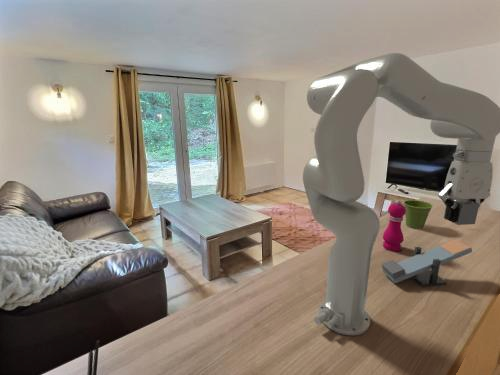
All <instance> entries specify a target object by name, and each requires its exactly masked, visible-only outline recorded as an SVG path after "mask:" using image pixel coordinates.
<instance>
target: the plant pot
mask: <svg viewBox="0 0 500 375" xmlns="http://www.w3.org/2000/svg"><path fill="white" fill-rule="evenodd" d="M403 206H404V207H405V209H406V213H405V215H404V216H405V225H406V227H409V228H411V229H418V230H420V229H423V228H424V227H425V225H426V221H427V219H428V217H429V214H430V212H431V209H432V208H433V207H434V204H432V203H430V202H428V201H424V200H417V199H406V200H404V201H403Z"/></svg>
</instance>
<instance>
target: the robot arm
mask: <svg viewBox="0 0 500 375" xmlns="http://www.w3.org/2000/svg"><path fill="white" fill-rule="evenodd" d="M377 97H378V98H382V99H384V100H386V101H388V102H389V103H391V104H393V105H394V106H396V107H398V109H401V110H402V111H404V112H405V113H406V114H408V115H410V116H412V117H416V118H420V119H424V120H430V123H429V124H430V129H431V132H432V133H433V134H434V135H436V136H437V137H440V138H444V139H453V140H455V139H456V140H457V143H456V149H455V152H453V154H452V157H453V161H452V160H451V163H450V166H449V169H448V172H447V174H446V177H445V178H446V179H445V182H444V187H443V189H442V190H441V191H440V192H439V194H438V196H437V197H438V198H439V199H440V200H441V201H442V203H444V205H445V209H446V213H445V212H444V215H445V219H444V220H446V219H447V221H449V222H451V223H453V222H455V221H456V217H457V212H458V209H457V208H456V207H457V205H458V203H459V201H460V200H470V201H473V202H476V203H479V208H480V207H481V204H482V203H483V202H485V200H487V198H488V199H489V197H490V196H491V188H492V182H493V171H494V170H493V169H494V168H493V161H492V162H491V159H492V155H493V151H494V145H495V141H496V137H497V136H498V135H499V134H500V106H499V105H498V104H497V103H496V102H494V101H493V100H492V99H491V98H489V97H488V96H486V95H485V94H482V93H479V92H478V91H474V90H471V89H466V88H463V87H459V86H457V85H453V84H450V83H445V82H442V81H440V80H438V79H437V78H436V77H435V76H434V75H432V74H430V72H428V71H427V70H426V69H424V68H423V67H421V66H420V65H419V64H418V63H417V62H415V61H414V60H413V59H411V58H410V57H408V56H407V55H405V54H403V53H399V52H392V53H386V54H383V55H379V56H376V57H372V58H368V59H364V60H362V61H359V62H357V63H354V64H352V65H348V66H347V67H344V68H342V69H338V70H336V71H334V72H331V73H328V74H325V75H322V76H319V77H317V78H316V79H315V80H314V81H313V82H312V83H311V84H310V86H309V88H308V90H307V92H306V101H307V106H308V107H309V109H311V110H312V112H314V113H315V114H318V115H320V117H319V119H318V121H317V124H316V127H315V129H314V130H315V131H314V134H313V136H314V138H313V140H314V144H313V145H314V149H315V153H316V155H315V156H313V157H311V158H310V159H309V160H308V161H307V162H306V164H305V166H304V168H303V171H302V182H303V186H304V190H305V194H306V197H307V200H308V204H309V208H310V211H311V214H312V216H313V218H314V220H315V221H316V222H317V223H318V224H319V225H320V226H322V227H323V228H325V229H327V231H329V232H330V233H332V234H334V236H335V237H336V239H335V241H334V243H333V244H332V245H331V247H330V250H329V253H328V261H327V262H328V263H327V264H328V265H327V279H326V292H325V300H323V301H322V302H321V303H320V305H319V306H318V307H319V308H318V314H317V315H316V316H315V317H314V319H313V321H314V322H315V324H316V325H317V326H319V325H321V324H324V325H325V326H326V327H328V328H329V329H330V330H332V331H334V332H335V333H338V334H341V335H343V336H344V335H345V336H359V335H362V334H364V333H365V332H367V331H368V330H369V328H370V325H371V324H370V323H371V318H370V315H369V313H368V312H367V310H366V309H365V308H366V301H367V300H366V299H367V292H368V286H369V285H368V284H369V276H370V268H371V267H370V266H371V260H372V254H373V249H374V244H375V242H376V239H377V236H378V234H379V232H380V226H381V224H380V222H381V221H380V218H379V216H378V214H377V213H376V212H375V211H374V210H373V209H372V208H371V207H370V206H368V205H366V204H364V203H363V202H359V201H357V200H359V199H360V198H361V197H362V196H363V194H364V191H365V177H364V176H365V175H364V173H363V172H364V170H363V165H362V161H361V156H360V152H359V145H358V144H359V143H358V130H359V128H360V125H361V122H362V120H363V119H364V117H365V115H366V114H367V112H368V111H369V110H370V108H371V107H372V105H373V104H374V102H375V100H376V98H377ZM452 199H454V201H453V202H452ZM446 206H447V207H446Z"/></svg>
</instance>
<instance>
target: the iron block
mask: <svg viewBox="0 0 500 375" xmlns="http://www.w3.org/2000/svg"><path fill="white" fill-rule="evenodd" d="M453 201H454V199H452V202H453ZM446 207H447V206H445V208H444V209H445V210H444V216H443V219H444V220H447V219H445V213H446ZM456 208H457V209H458V212H457V217H456V221H455V222H452V223H453V224H456V226H457V225H458V226H461V225H462V226H465V225H467V226H468V225H476V220H477V216H478V212H479V208H480V207H479V203H476V202H473V201H470V200H460V201H459V203H458V205H457V207H456ZM447 221H448V220H447Z"/></svg>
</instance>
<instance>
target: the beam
mask: <svg viewBox="0 0 500 375" xmlns="http://www.w3.org/2000/svg"><path fill="white" fill-rule="evenodd" d="M471 253H473V248H472V247H470V246H468V245H467V244H464V243H463V242H460V241H459V240H457V239H452V240H450V241H447V242H445V243H442V244H440V245H438V246H435V247H433V248H430V249H428V250H425V251H423V252H421V253H420V254H418V255H415V256H414V255H412V256H410V257H408V258H405V259H403V260H401V261H398V262H397V261H395V260H394V259H391V260H388V261H385V262H384V263H381V268H382V273H383V274H385V275H386V277H387V278H389V279H390V281H392V282H393V283H394V284H397V283H400V282H401V281H404V280H407V279H409V278H411V277H412V276H414V275H417V274H419V273H422V272H424V271H427V270H431V269H432V264H433V259H439V260H441V262H440V266H441V265H444V264H446V263H448V262H451V261H454V260H457V259H458V258H461V257H464V256H466V255H468V254H471Z"/></svg>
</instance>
